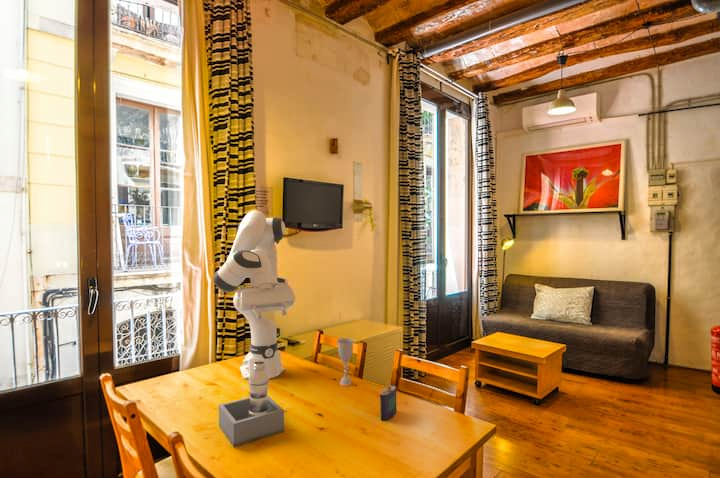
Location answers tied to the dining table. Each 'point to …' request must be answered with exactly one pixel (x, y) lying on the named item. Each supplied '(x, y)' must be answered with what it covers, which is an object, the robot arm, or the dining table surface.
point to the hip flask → (388, 403)
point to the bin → (249, 421)
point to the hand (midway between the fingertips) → (272, 316)
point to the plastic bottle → (258, 390)
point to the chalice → (345, 356)
